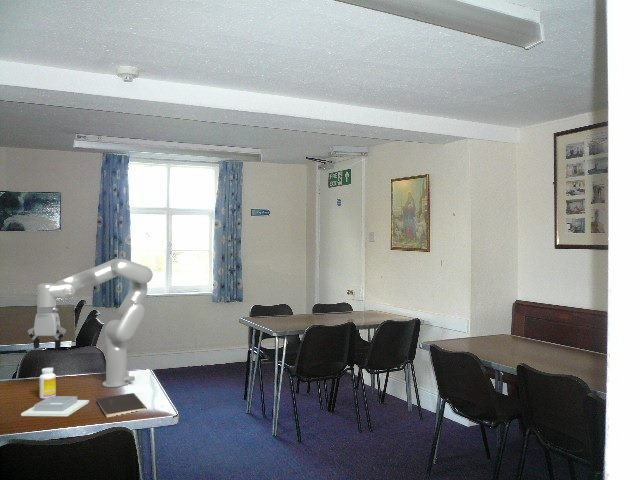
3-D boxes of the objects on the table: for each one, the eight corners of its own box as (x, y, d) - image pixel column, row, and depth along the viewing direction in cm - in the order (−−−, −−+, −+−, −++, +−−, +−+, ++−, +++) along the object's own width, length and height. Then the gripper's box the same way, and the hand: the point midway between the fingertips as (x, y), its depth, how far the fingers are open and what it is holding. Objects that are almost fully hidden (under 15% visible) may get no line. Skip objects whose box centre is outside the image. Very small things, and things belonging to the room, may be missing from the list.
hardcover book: (105, 419, 204) (105, 413, 204) (96, 403, 224) (96, 398, 224) (146, 412, 213) (146, 406, 213) (134, 397, 232) (134, 392, 232)
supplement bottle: (59, 395, 234) (59, 367, 234) (47, 400, 228) (47, 371, 228) (48, 394, 236) (48, 366, 236) (35, 398, 230) (35, 369, 230)
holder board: (88, 402, 224) (88, 394, 224) (67, 416, 206) (67, 407, 206) (46, 401, 225) (46, 394, 225) (21, 415, 207) (21, 407, 207)
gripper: (69, 309, 235) (70, 346, 235) (33, 309, 236) (33, 346, 236) (60, 311, 228) (61, 350, 228) (23, 311, 228) (23, 350, 228)
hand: (47, 348), depth 232 cm, fingers open, 9 cm apart
